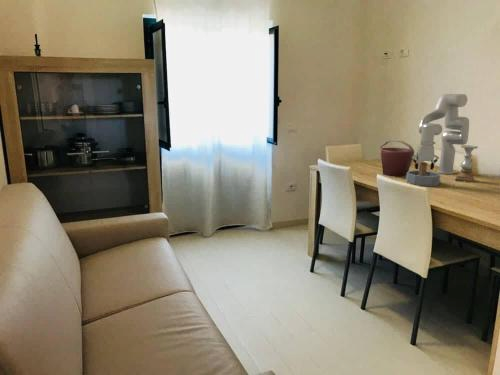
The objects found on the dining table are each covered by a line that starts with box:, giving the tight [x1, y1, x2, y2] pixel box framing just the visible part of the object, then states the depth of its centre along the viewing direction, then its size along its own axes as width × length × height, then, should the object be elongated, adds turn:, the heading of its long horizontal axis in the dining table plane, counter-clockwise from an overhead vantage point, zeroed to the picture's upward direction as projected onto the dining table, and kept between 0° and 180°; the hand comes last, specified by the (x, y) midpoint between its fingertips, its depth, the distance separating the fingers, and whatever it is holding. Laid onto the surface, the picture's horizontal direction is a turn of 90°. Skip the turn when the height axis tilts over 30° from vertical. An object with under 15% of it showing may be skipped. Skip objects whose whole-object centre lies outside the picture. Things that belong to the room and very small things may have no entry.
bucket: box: [380, 140, 415, 178], centre depth 286 cm, size 24×22×25 cm
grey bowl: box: [405, 169, 441, 187], centre depth 261 cm, size 20×20×6 cm
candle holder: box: [454, 144, 478, 183], centre depth 267 cm, size 11×11×24 cm
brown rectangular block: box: [418, 161, 428, 176], centre depth 262 cm, size 6×3×12 cm, turn 174°
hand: (424, 169), depth 259 cm, fingers open, 9 cm apart
